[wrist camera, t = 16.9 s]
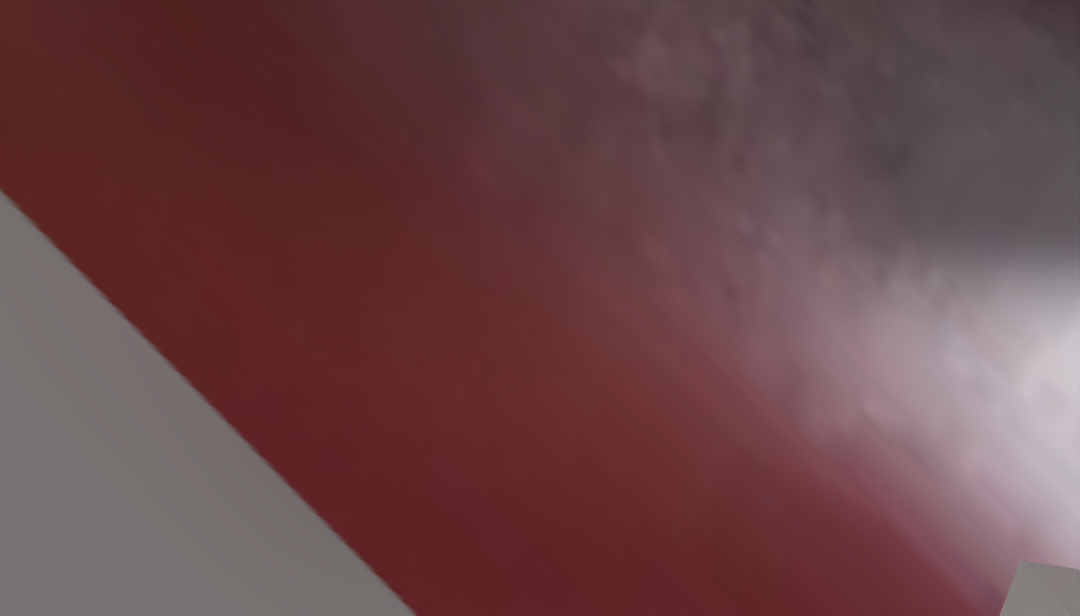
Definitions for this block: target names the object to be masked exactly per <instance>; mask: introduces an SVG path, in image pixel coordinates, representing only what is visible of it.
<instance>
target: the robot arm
mask: <svg viewBox="0 0 1080 616" xmlns="http://www.w3.org/2000/svg"><path fill="white" fill-rule="evenodd" d="M1000 616H1080V571H1079V570H1078V569H1073V568H1067V567H1061V566H1054V565H1048V564H1042V563H1036V562H1030V561H1023V560H1020V563H1019V566H1018V568H1017V571H1016V573H1015V576H1014V579H1013V581H1012V584H1011V587H1010V589H1009V592H1008V595H1007V597H1006V600H1005V602H1004V605H1003V608H1002V610H1001V613H1000Z"/></svg>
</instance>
